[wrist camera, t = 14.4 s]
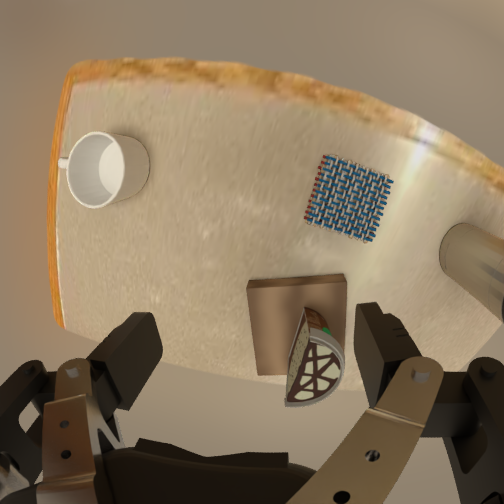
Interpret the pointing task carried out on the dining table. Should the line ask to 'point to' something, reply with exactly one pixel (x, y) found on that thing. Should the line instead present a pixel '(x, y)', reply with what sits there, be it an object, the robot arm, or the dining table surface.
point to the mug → (105, 168)
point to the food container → (313, 362)
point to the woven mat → (347, 198)
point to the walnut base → (292, 314)
